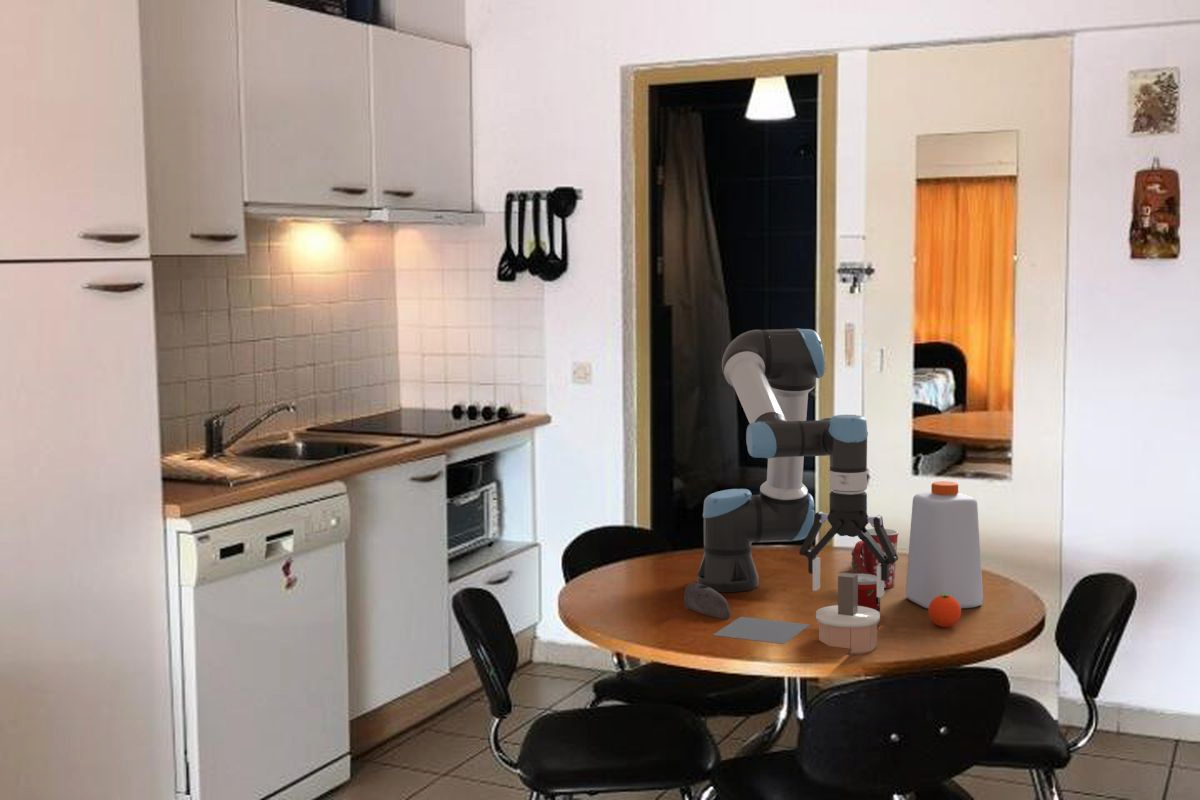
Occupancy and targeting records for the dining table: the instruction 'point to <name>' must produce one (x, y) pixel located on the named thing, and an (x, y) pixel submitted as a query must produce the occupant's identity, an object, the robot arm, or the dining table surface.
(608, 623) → the dining table surface
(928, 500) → the plastic bottle
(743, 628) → the plate
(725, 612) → the perforated stone tool
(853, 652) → the pink faceted pot
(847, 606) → the lid
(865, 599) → the canned food
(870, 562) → the mug
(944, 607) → the clementine
